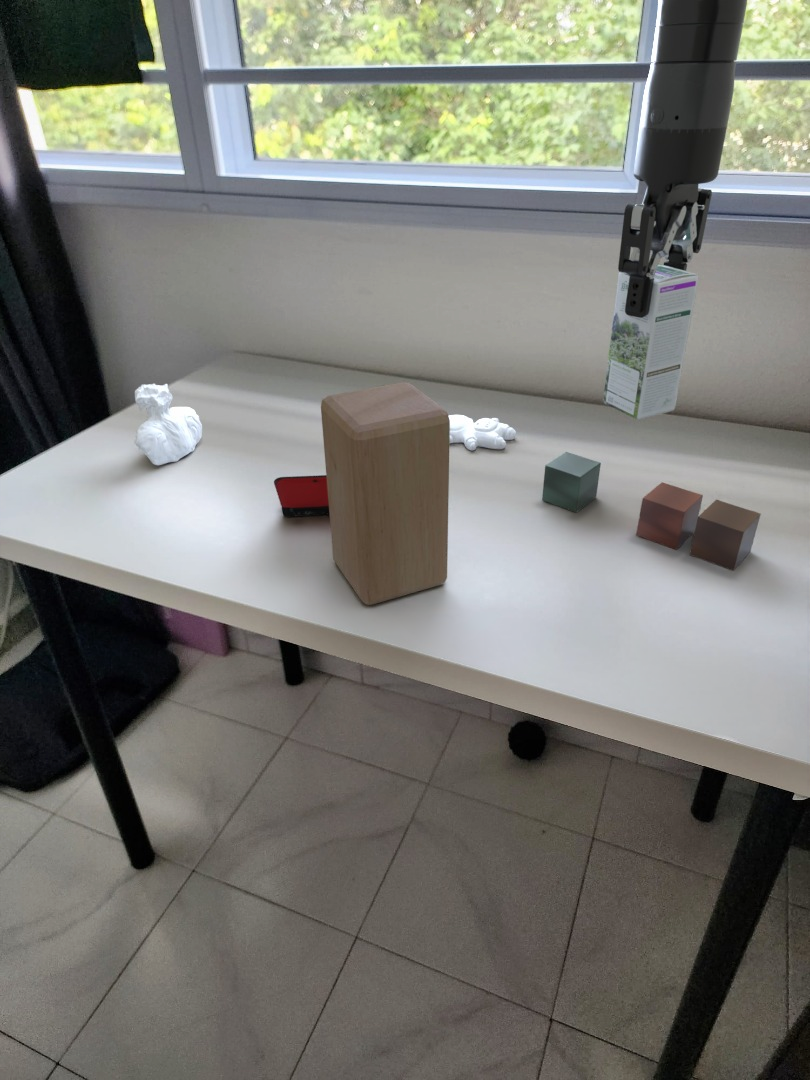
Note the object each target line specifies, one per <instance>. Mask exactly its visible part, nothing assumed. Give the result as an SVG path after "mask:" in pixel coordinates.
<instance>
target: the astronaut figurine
mask: <svg viewBox="0 0 810 1080" xmlns="http://www.w3.org/2000/svg"><path fill="white" fill-rule="evenodd" d="M448 416H449V419H450V443H449V445H450V444H459V443H463V444H464V446H465V448H466V449H467V450H469V451H475V450H476V449H477V448H478V447H480V448H487V449H491V450H503V449H504V448H505V447H506V444H507V443H506V440H507V441H513V440H515V439H516V436H517V431H516V430H515V429H514V427H510V425H509V424H507V423H502V422H500V419H499V418H497V417H492V418H488V417H483V418H480V419H478V420H476V421H475V422H474V420H473V418H470V417H469V416H466V415H463V414H451V415H450V414H449V415H448Z"/></svg>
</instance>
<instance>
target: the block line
mask: <svg viewBox="0 0 810 1080" xmlns="http://www.w3.org/2000/svg"><path fill="white" fill-rule="evenodd" d="M601 465H602V463H601V462H600V461H596V460H593V459H590V458H586V457H584V456H581V455H578V454H575V453H572V452H569V451H565V452H563V453H562V454H560V455H558V456H557V457H556V458H554V459H552V460H551V461H549V462H548V463H546V464H545V466H544V475H543V485H542V486H543V487H542V495H541V496H542V497H541V500H542V501H544V502H546V503H549V504H552V505H554V506H557V507H560V508H562V509H565V510H567V511H571V512H574V513H578V512H579V511H580V510H582V509H583V508H584V507H586V506H587V505H588V504H590V503H591V502H592V501H594V500H595V499H596V498H597V494H598V487H599V481H600V480H599V479H600V472H601ZM703 495H704V494H701V493H696V492H694V491H691V490H688V489H685V488H681V487H679V486H675V485H673V484H669V483H667V482H663V481H662V482H660V483H659V484H658V485H656V487H654V488H653V489H652V490H651V491H649V492H648V493H647V494H646V495H645V496H643V497H642V500H641V506H640V513H639V516H638V523H637V528H636V533H635V535H636V536H637V537H641V538H643V539H646V540H649V541H652V542H654V543H658V544H660V545H661V546H665V547H667V548H671V549H672V550H676V551H677V550H679V548H680V547H681V546H682V545H683V544H684V543H685V542H687V540H688V539H689V538H690V537H691V536H692V541H691V545H690V551H689V555H690V556H692V557H695V558H697V559H700V560H703V561H706V562H708V563H711V564H713V565H716V566H719V567H721V568H725V569H728V570H731V571H735V570H736V569H737V568H738V566H739V565H740V564H741V563H742V562H743V561H744V559H745V558H746V557H747V556H748V555H749V554H750V553H751V551H752V547H753V544H754V541H755V537H756V532H757V529H758V525H759V521H760V518H761V516H762V515H761V514H762V513H760V512H756V511H754V510H751V509H747V508H744V507H742V506H738V505H734V504H732V503H728V502H725V501H722V500H719V499H715V500H714V501H713V502H712V503H710V505H708V506H707V508H706V509H704V510H703V511H702V512H701V513H700V511H701V506H702V502H703V497H704V496H703Z"/></svg>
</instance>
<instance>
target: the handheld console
mask: <svg viewBox="0 0 810 1080" xmlns="http://www.w3.org/2000/svg"><path fill="white" fill-rule="evenodd" d="M273 484H274V485H273V486H274V487H275V492H276V495H277V496H278V501H279V503H280V506H281V513H282V515H283V517H285V518H286V517H287V518H295V517H310V516H311V517H312V516H326V515H330V513H329V501H328V489H327V477H326V474H321V475H319V474H318V475H301V476H300V475H297V476H296V475H295V476H280V477H276V478H275V479H274V481H273Z"/></svg>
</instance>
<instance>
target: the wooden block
mask: <svg viewBox="0 0 810 1080" xmlns="http://www.w3.org/2000/svg"><path fill="white" fill-rule="evenodd" d="M320 415H321V427H322V439H323V450H324V462H325V463H324V464H325V475H326V477H327V489H328V501H329V513H330V514H329V523H330V536H331V537H330V539H331V549H332V559H333V561H334V563H335V564H336V566H337V567H338V569H339V570H340V571H341V573H342V574H343V576H344V578H345V579H346V580H347V582H348V583H349V584H350V586H351V587H352V589H353V591H355V593H356V595H357V596H358V597H359V599H360V601H361V602H362V603H363V604H365V605H367V606H368V605H371V606H372V605H376V604H379V603H384V602H386V601H390V600H393V599H397V598H399V597H403V596H407V595H410V594H413V593H417V592H421V591H424V590H427V589H431V588H434V587H438V586H441V585H443V584H444V583H446V581H447V579H448V551H449V550H448V547H449V546H448V545H449V498H450V497H449V494H450V493H449V492H450V491H449V490H450V489H449V488H450V444H451V443H450V419H449V416H450V415H449V414H448V411H447V410H446V409H445V408H443V407H442V406H441V405H439V404H438V403H437V402H435V401H434V400H433V399H432V398H430V397H429V396H428V395H426V394H425V393H424V392H422V391H421V390H419V389H418V388H417V387H416V386H414V385H413V384H412V383H410V382H405V381H401V382H397V383H389V384H386V385H385V384H384V385H380V386H374V387H369V388H364V389H358V390H351V391H346V392H341V393H336V394H335V393H334V394H330V395H327V396H324V397H323V398H322V399H321V403H320ZM449 443H450V444H449Z"/></svg>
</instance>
